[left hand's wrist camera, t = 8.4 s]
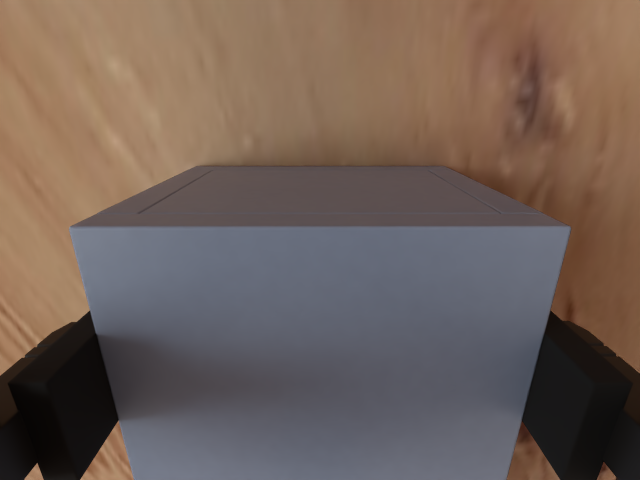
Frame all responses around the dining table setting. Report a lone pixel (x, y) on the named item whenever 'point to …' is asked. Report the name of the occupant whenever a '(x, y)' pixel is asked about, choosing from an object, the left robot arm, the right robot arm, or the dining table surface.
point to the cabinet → (320, 321)
